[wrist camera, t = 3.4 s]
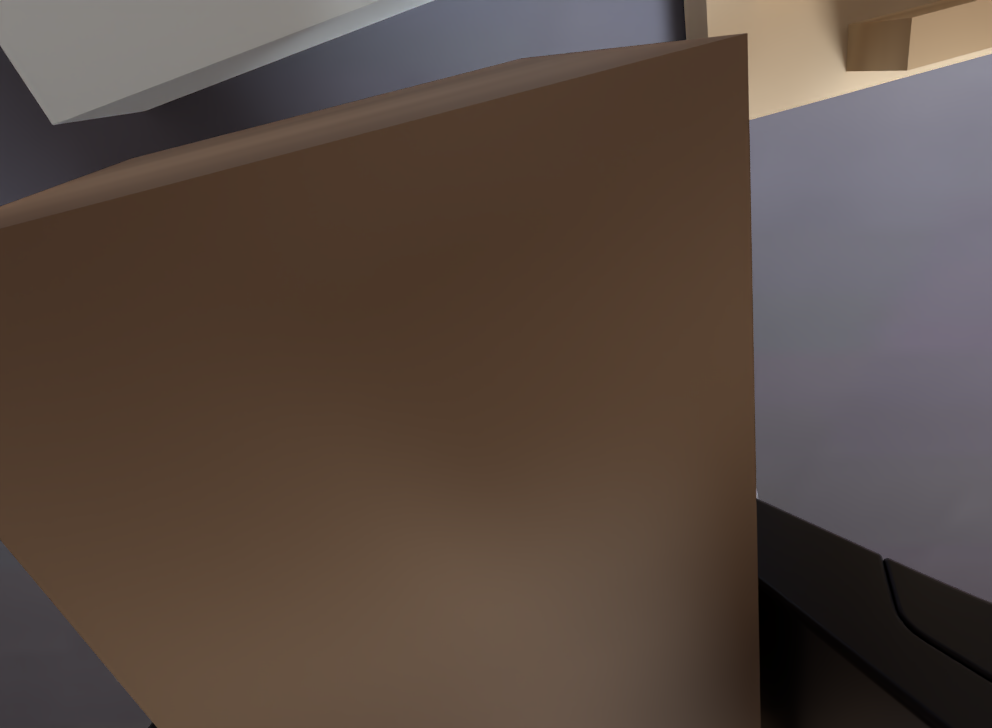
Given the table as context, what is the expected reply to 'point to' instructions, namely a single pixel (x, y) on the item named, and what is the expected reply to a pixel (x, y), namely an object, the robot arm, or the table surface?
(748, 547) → the tan rectangular bar
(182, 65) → the light grey rectangular block
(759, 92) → the jig
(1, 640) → the table surface
